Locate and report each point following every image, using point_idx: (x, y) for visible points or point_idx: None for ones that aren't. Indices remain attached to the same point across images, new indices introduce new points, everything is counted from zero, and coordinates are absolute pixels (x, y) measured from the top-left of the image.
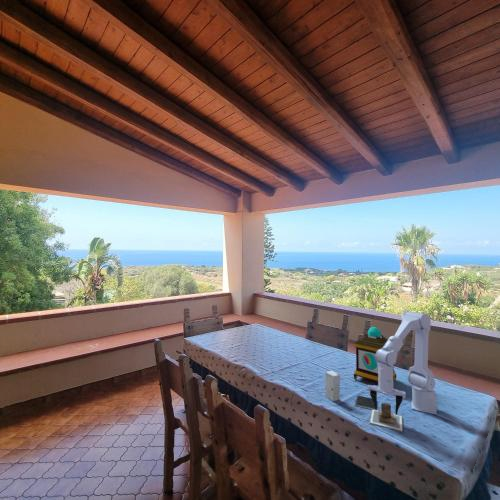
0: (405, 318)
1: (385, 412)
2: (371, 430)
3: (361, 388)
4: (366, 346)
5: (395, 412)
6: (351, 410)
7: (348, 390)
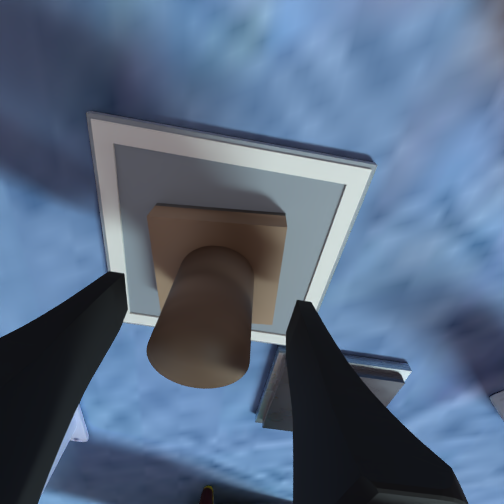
0: None
1: (218, 277)
2: (399, 23)
3: None
4: None
5: (113, 283)
6: (459, 311)
7: None
